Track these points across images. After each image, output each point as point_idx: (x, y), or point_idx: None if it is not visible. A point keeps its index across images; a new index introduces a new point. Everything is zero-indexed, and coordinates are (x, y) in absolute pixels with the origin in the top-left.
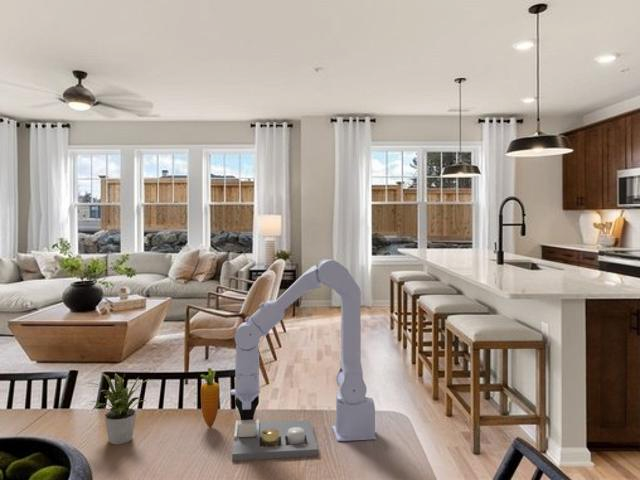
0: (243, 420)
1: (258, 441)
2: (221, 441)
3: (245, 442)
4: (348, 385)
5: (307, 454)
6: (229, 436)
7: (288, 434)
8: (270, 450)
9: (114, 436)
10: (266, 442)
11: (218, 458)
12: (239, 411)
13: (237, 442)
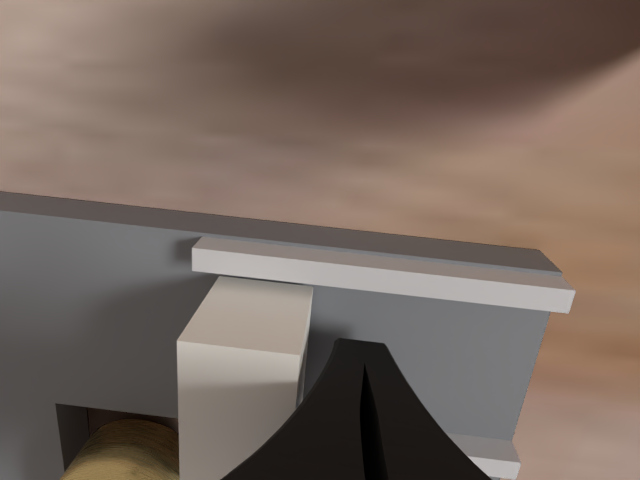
0: (286, 403)
1: (149, 407)
2: (326, 115)
3: (138, 319)
4: None
5: None
6: (411, 190)
7: None
8: (5, 456)
9: None
10: (72, 462)
11: (16, 81)
12: (254, 456)
13: (144, 259)
